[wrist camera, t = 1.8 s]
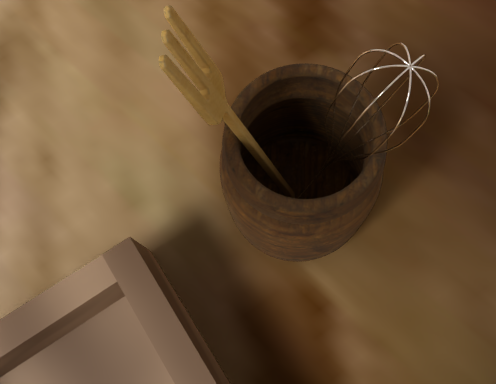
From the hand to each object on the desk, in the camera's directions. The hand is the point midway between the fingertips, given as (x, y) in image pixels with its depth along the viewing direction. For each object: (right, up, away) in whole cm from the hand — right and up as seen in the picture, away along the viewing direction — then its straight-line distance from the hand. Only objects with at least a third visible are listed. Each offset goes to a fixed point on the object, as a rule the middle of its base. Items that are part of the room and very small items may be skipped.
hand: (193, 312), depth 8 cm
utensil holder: (+3, +2, +13) cm, 14 cm away
